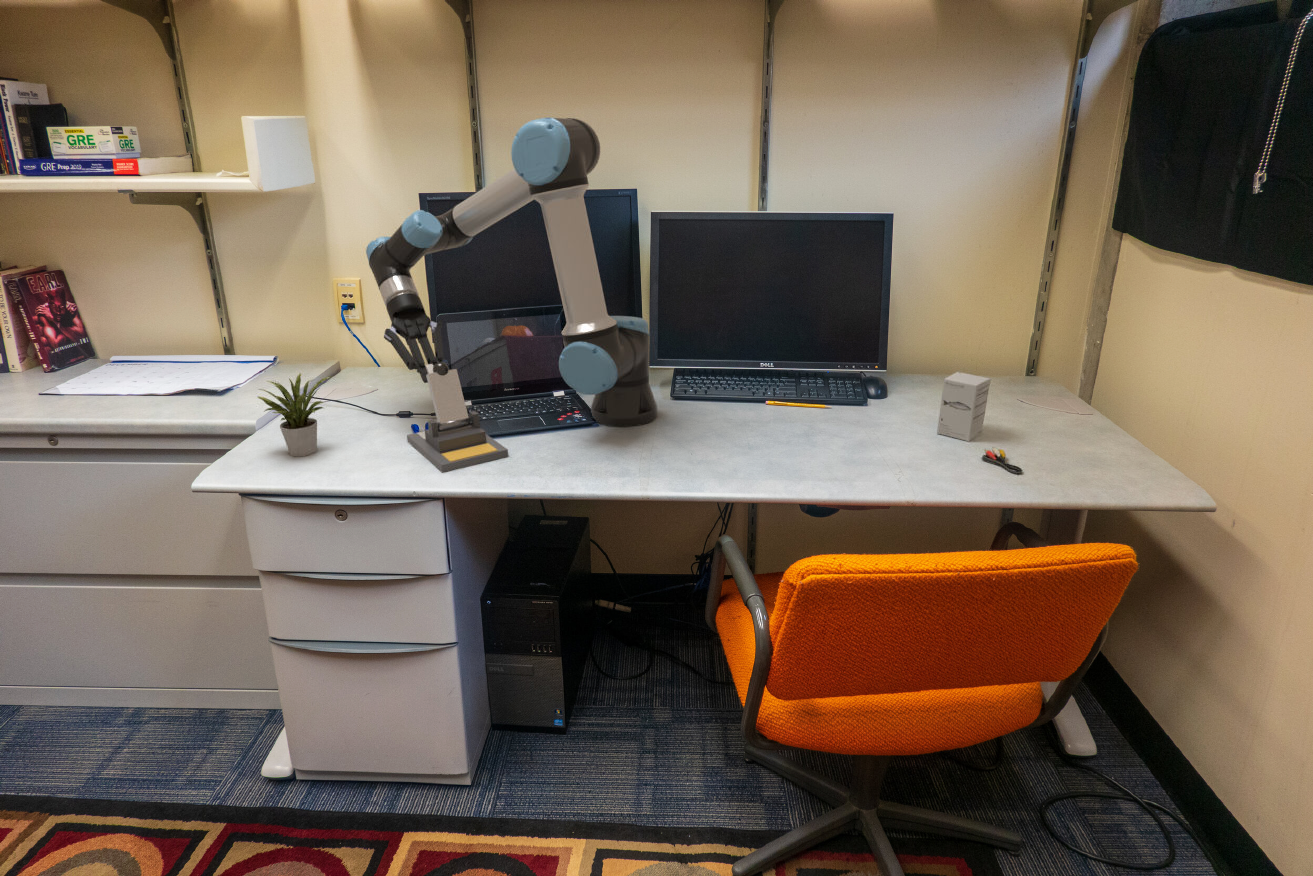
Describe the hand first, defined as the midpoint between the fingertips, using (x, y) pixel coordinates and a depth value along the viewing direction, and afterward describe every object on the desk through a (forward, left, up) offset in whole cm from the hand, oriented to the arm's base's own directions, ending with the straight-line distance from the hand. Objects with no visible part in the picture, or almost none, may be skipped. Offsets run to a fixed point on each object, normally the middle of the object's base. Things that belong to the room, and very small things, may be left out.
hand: (438, 393), depth 173 cm
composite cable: (-114, +16, -11) cm, 115 cm away
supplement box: (-112, -2, -10) cm, 112 cm away
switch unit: (-5, +6, -10) cm, 13 cm away
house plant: (+26, +6, -10) cm, 29 cm away
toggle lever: (-5, +6, -5) cm, 9 cm away
